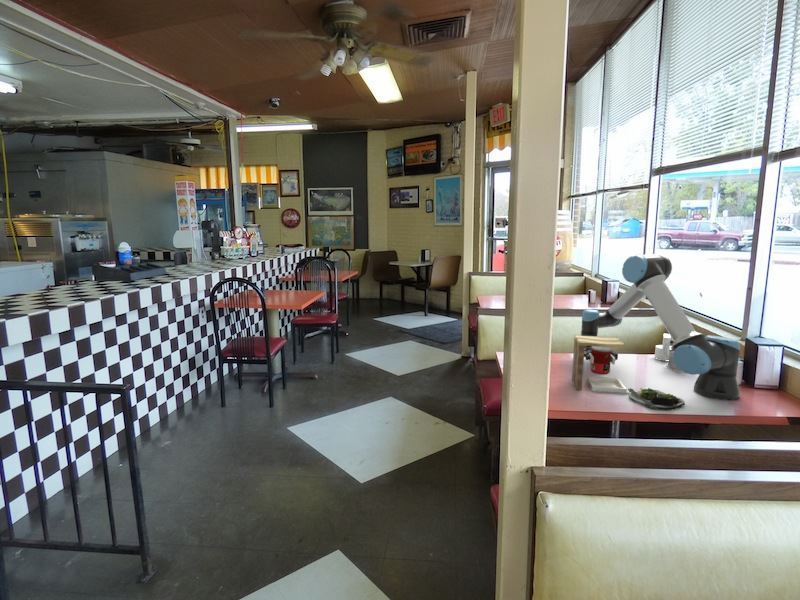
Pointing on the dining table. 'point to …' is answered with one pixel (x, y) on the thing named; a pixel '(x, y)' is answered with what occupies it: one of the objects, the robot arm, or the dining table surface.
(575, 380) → the wooden l-shaped stand
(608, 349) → the canned food
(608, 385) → the shallow square white tray
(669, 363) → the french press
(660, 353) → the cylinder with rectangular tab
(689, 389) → the dining table surface
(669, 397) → the salad plate
